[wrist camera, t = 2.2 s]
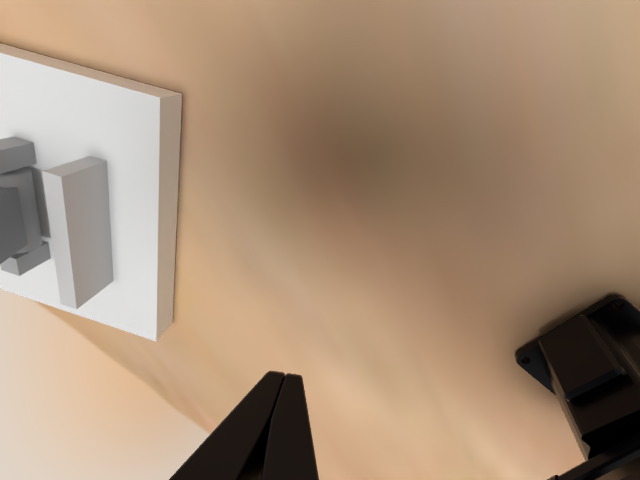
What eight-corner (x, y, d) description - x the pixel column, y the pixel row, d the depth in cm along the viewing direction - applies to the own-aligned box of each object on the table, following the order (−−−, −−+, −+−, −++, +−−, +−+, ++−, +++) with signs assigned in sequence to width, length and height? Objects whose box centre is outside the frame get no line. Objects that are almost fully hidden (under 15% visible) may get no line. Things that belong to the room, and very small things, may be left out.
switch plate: (182, 94, 19) (117, 105, 15) (172, 322, 27) (127, 374, 23) (-85, 19, 21) (-217, 9, 16) (-23, 258, 28) (-102, 295, 24)
